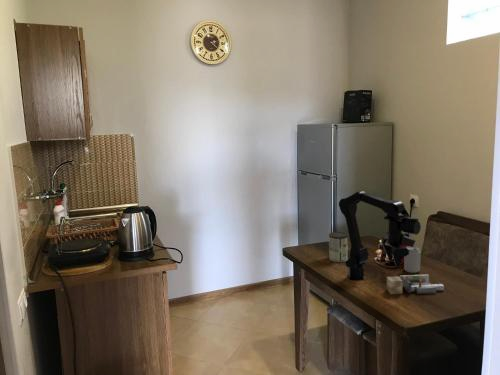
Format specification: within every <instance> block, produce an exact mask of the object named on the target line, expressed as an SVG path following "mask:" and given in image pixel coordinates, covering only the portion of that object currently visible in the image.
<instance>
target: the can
mask: <svg viewBox="0 0 500 375" xmlns="http://www.w3.org/2000/svg"><path fill="white" fill-rule="evenodd" d="M406 248H407V249H408V250H409V255H407V256H405V257H404V264H403V269H404V270H405V272H407V273H410V274H417V273H419V272H420V270H421V251H420V248H419V247H417V246H414V247H411V246H409V247H406Z"/></svg>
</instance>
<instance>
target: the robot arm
mask: <svg viewBox="0 0 500 375" xmlns="http://www.w3.org/2000/svg"><path fill="white" fill-rule="evenodd" d="M361 202H363V203H365V204H368V205H371V206H372V207H376V208H378V209H380V210H382V211H383V212H384V214H386V215H385V216H384V217H383V219H384V220H388V224H387V226H388V227H387V231H386V234H387V236H383V237H382V238H381V239H380V240H381V242H380V243H381V245H382V247H383V250H384V252H385V253H386V256H387V259H388V261H389V262H394V265H395V268H397V269H399V268H400V266H401V261H402V259H403V257H405V256H407V255H409V250H408V249H407V248H406V247H405V246H400V245H404V244H406V245H409V246H411V247H413V246H414V247H415V243H416V240H415V239H414V238H412V237H411V236H410V234H411V235H415V236H416V235H419V234H420V232H421V227H422V225H421V223H420V221H419V218H418V217H411V215H410V213H408V211H407V208H405V205H404V202H402V201H400V200H393V199H385V198H382V197H379V196H377V195H374V194H371V193H368V192H365V191H364V190H360V191H355V193H353V194H351V195H350V196H348V197H344V198H341V199H340V200H339V202H338V207H339V211H340V213H341V214H342V215H343V217H344V218H345V221H346V227H347V231H348V233H347V234H348V237H349V242H350V249H349V250H350V251H349V257H348V260H347V261H344V262H345V265H346V267H347V268H348V270H347V272H348V274H347V277H348V279H350V280H351V281H354V280H364V276H365V269H364V267H363V266H364V265H365V264H366V262H367V261H368V259H369V255H370V254H369V252H368V247H367V246H366V247H364V245H363V243H362V239H361V234H360V231H359V225H358V221H357V216H356V215H357V214H356V213H357V211H358V204H359V203H361ZM392 258H393V259H394V261H393V259H392Z"/></svg>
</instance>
